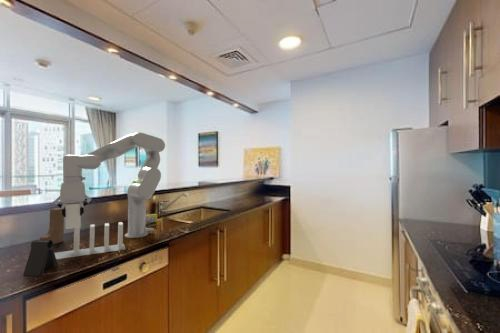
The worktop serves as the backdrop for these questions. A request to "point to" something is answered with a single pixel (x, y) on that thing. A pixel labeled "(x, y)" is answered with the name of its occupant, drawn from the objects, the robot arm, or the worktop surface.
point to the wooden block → (55, 226)
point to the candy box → (151, 220)
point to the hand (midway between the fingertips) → (73, 215)
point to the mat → (86, 251)
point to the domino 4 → (106, 237)
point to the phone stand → (40, 258)
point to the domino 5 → (120, 235)
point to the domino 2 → (76, 240)
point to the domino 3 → (92, 238)
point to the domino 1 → (72, 215)
